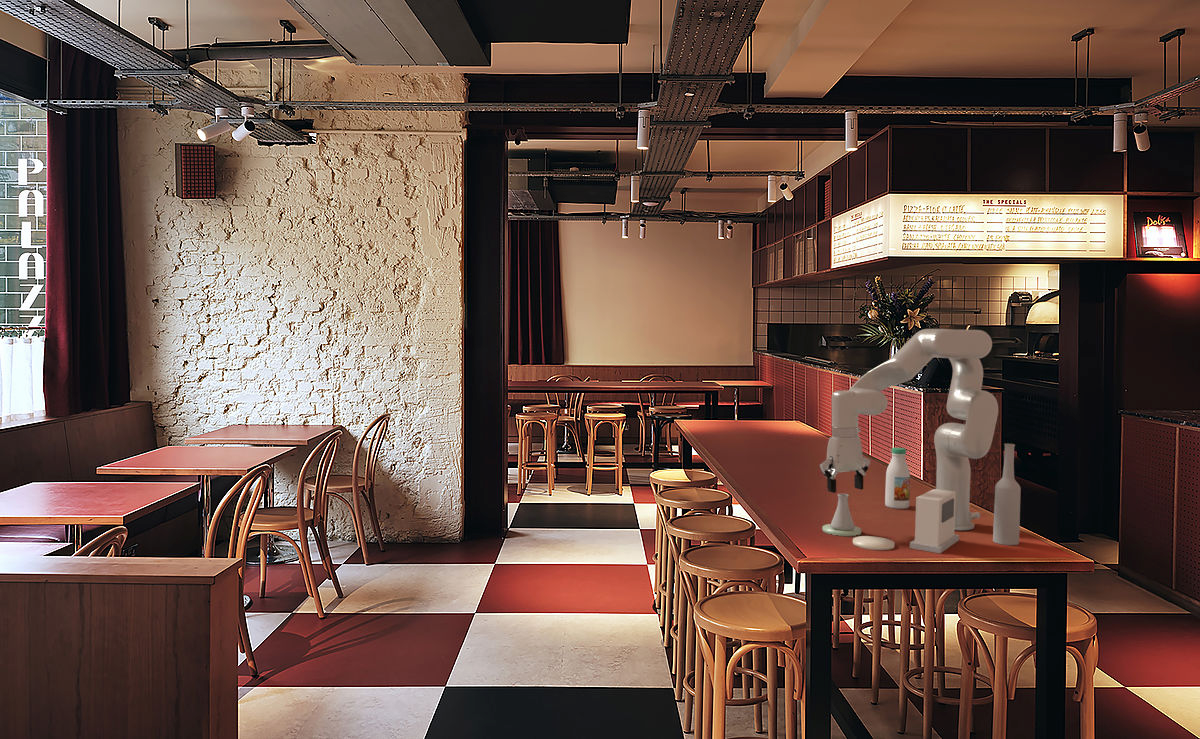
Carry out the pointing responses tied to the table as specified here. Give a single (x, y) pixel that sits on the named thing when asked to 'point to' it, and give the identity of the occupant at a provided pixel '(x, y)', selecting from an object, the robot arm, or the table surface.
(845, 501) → the flask
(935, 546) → the control unit
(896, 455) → the milk bottle
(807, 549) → the table surface
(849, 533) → the green pad
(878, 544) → the cream pad
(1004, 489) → the bottle
